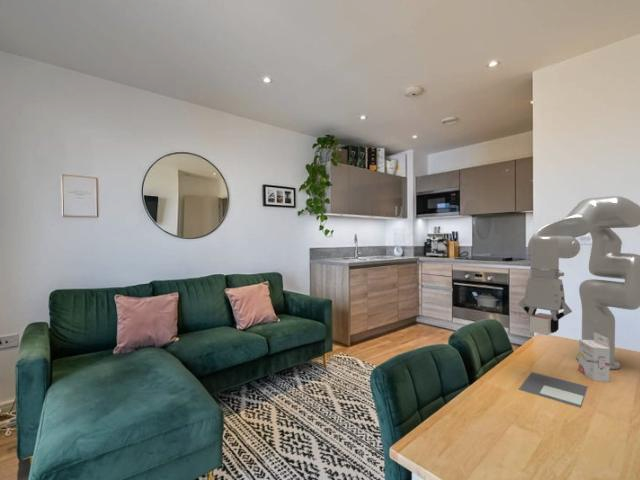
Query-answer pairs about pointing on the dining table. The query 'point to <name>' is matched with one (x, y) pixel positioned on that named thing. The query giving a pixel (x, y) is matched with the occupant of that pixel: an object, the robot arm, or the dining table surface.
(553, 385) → the mat
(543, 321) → the card deck case
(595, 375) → the ink cartridge box
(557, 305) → the robot arm
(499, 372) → the dining table surface
